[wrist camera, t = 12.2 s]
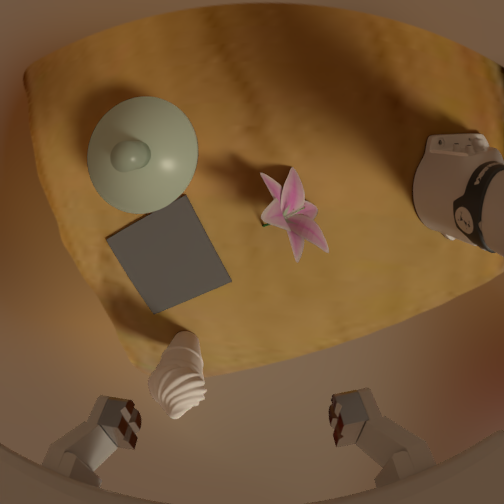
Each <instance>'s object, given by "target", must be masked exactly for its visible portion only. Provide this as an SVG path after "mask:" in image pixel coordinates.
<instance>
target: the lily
mask: <svg viewBox="0 0 504 504" xmlns="http://www.w3.org/2000/svg"><path fill="white" fill-rule="evenodd" d="M260 174H261V176H262V178H263V180H264V182H265V184H266V186H267V187H268V189H269V191H270V193H271V195H272V197H273V199H274V200H273V201H272V202H271V203H270V204H269V205H268V206H267V208H266V209H265V210H264V211H263V213H262V215H261V219H262V220H263V221H264V222H266V223H267V224H264V225H262V226H263V227H265V226H268V225H274V226H277V227H280V228H282V229H285V230H287V233H288V236H289V239H290V243H291V246H292V250H293V253H294V257H295V260H296V262H299V260H300V258H301V255H302V252H303V248H304V239H306V240H307V241H309V242H311V243H313V244H315V245H316V246H318V247H319V248H321V249H322V250H324V251H325V252H327V253H329V248H328V245H327V242H326V240H325V237H324V235H323V233H322V231H321V229H320V227H319V226H318V224H317V223H316V222H315V221H314V218H315V217H316V215H317V213H318V209H317V207H316V206H315V205H313V204H312V203H310V202H308V201H305V193H304V189H303V185H302V183H301V180H300V178H299V176H298V174H297V172H296V170H295V169H294V168H293V167H292V168H291V169H290V172H289V174H288V177H287V179H286V181H285V184H284V186H283V188H282V186H281V185H280V184H279V183H278V182H276V181H275V180H274V179H272V178H271V177H269V176H268V175H266V174H264V173H260Z"/></svg>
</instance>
